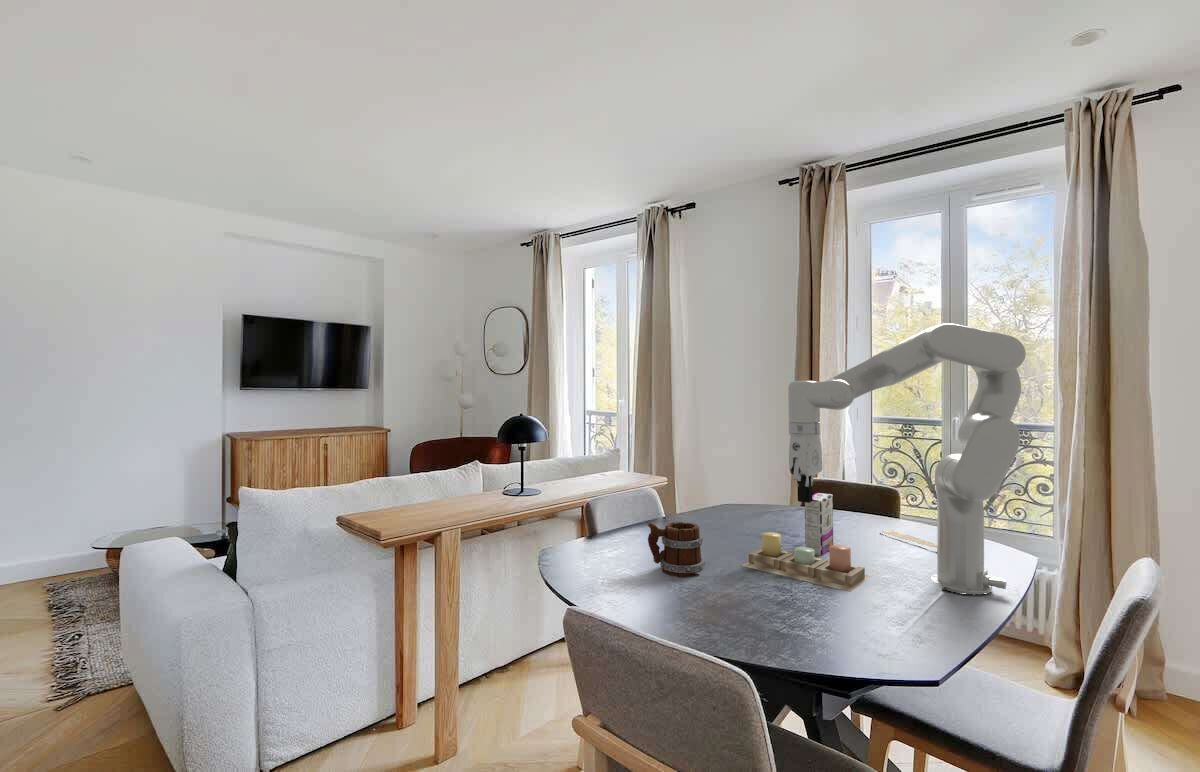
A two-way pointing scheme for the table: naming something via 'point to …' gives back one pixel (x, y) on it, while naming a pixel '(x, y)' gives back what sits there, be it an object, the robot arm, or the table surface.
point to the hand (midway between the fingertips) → (805, 501)
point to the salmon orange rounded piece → (840, 557)
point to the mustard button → (771, 544)
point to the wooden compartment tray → (807, 570)
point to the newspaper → (909, 538)
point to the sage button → (804, 555)
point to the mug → (677, 548)
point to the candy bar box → (819, 523)
